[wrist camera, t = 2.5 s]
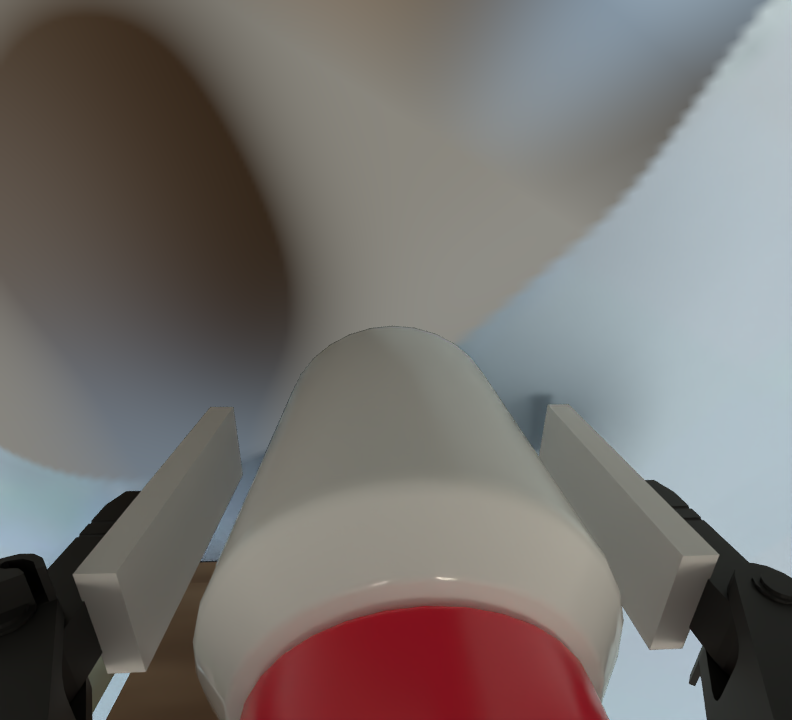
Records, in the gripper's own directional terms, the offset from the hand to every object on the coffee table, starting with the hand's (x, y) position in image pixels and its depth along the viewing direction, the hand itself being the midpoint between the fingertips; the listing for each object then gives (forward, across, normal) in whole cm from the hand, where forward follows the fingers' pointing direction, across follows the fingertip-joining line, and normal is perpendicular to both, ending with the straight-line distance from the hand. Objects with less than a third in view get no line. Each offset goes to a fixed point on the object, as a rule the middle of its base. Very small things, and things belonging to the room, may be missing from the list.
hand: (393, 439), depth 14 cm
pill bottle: (+1, 0, 0) cm, 1 cm away
